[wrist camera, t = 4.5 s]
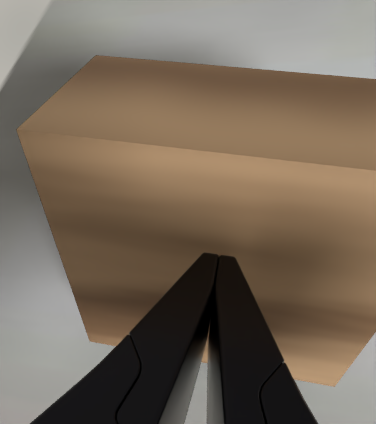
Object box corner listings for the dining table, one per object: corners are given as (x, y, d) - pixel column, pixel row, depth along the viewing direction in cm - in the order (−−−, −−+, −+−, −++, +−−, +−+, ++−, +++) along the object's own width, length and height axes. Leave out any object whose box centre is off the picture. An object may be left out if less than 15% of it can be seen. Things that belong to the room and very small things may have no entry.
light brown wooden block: (334, 386, 14) (487, 183, 7) (89, 341, 15) (16, 129, 8) (321, 282, 17) (413, 82, 11) (125, 252, 19) (95, 55, 12)
